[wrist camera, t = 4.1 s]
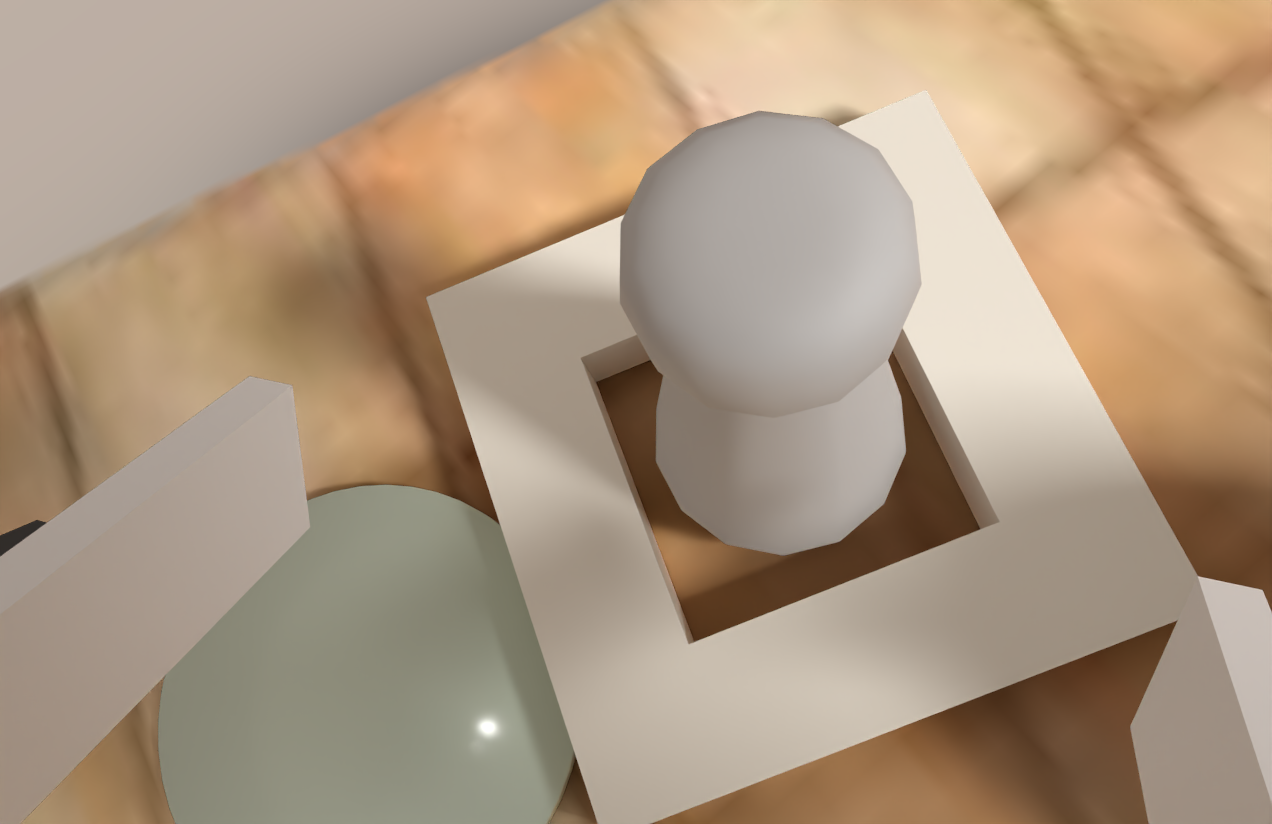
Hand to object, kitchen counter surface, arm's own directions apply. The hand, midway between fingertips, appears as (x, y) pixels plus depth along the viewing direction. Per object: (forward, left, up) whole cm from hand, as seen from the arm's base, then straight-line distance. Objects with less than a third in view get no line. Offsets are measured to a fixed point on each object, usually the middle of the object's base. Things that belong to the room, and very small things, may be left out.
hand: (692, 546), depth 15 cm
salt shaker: (-2, -3, -11) cm, 11 cm away
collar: (-2, -3, -10) cm, 11 cm away
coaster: (+10, -1, -10) cm, 14 cm away
